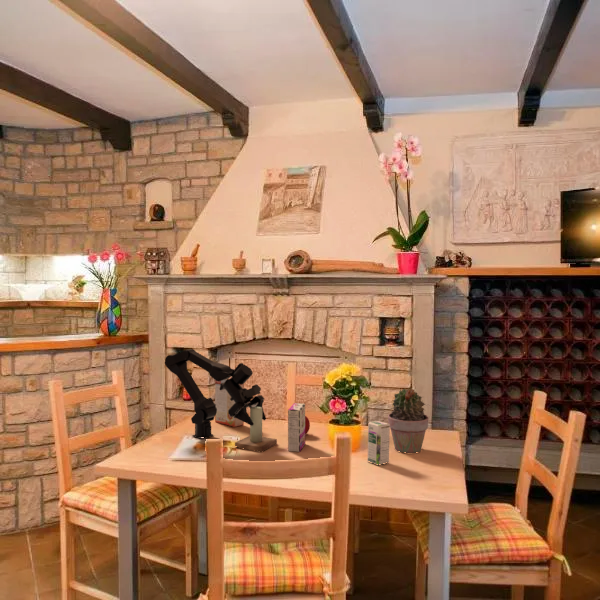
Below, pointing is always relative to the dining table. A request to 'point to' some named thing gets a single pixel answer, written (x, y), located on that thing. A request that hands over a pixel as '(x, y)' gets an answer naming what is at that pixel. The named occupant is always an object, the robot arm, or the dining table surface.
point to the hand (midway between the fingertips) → (259, 422)
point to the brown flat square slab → (256, 444)
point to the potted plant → (408, 421)
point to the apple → (307, 425)
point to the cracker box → (225, 406)
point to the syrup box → (378, 442)
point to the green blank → (256, 424)
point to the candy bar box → (296, 427)
